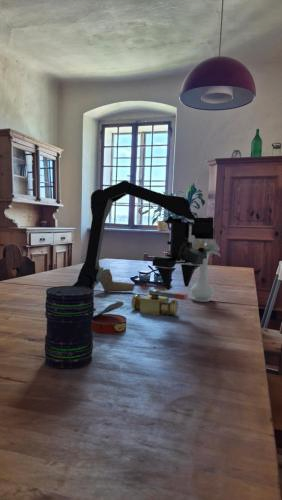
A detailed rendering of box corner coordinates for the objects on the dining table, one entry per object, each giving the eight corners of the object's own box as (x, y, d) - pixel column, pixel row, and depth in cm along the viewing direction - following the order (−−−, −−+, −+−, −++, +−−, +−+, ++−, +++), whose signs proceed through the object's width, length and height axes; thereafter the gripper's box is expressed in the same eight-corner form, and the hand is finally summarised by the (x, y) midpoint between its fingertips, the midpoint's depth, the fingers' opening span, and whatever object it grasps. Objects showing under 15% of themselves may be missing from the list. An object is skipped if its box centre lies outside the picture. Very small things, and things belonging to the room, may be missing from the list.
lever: (146, 295, 113) (147, 290, 113) (152, 293, 116) (152, 288, 116) (183, 300, 107) (184, 295, 107) (188, 298, 110) (188, 293, 110)
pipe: (135, 294, 143) (136, 270, 143) (96, 293, 141) (96, 269, 140) (133, 291, 150) (134, 268, 149) (95, 290, 147) (96, 267, 146)
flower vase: (212, 295, 145) (215, 237, 144) (222, 305, 127) (225, 239, 125) (181, 294, 146) (184, 236, 144) (187, 304, 127) (190, 237, 125)
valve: (170, 318, 107) (171, 300, 107) (129, 310, 115) (130, 294, 114) (179, 313, 113) (179, 296, 113) (139, 306, 121) (140, 291, 120)
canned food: (100, 351, 89) (83, 320, 87) (95, 335, 99) (80, 307, 96) (138, 331, 91) (123, 300, 88) (129, 317, 101) (116, 288, 98)
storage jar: (72, 348, 78) (73, 284, 77) (102, 360, 72) (104, 290, 71) (34, 360, 70) (35, 289, 69) (64, 375, 64) (66, 297, 63)
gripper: (182, 239, 94) (179, 295, 95) (218, 239, 107) (215, 288, 108) (152, 237, 101) (150, 289, 102) (189, 237, 115) (187, 283, 116)
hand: (177, 288), depth 107 cm, fingers open, 9 cm apart
